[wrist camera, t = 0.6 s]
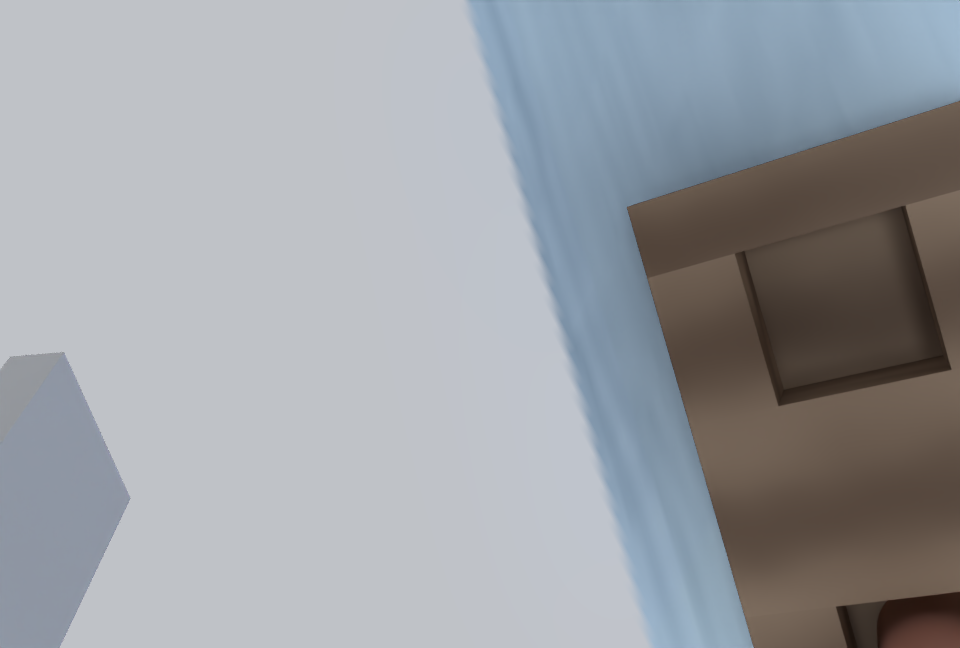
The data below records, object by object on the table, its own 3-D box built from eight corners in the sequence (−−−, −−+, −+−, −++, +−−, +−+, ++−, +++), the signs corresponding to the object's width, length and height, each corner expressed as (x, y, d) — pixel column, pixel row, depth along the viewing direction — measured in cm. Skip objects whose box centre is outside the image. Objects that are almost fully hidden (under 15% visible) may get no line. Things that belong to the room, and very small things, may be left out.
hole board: (648, 206, 36) (626, 207, 33) (975, 103, 32) (991, 90, 28) (810, 768, 37) (806, 831, 33) (1156, 750, 32) (1195, 821, 28)
